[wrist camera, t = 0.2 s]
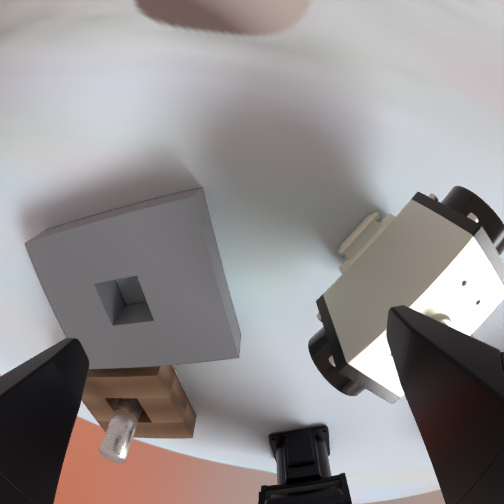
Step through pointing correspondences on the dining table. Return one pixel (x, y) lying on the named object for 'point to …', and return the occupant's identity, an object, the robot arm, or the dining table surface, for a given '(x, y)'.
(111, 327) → the socket plate
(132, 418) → the steel pin
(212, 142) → the dining table surface
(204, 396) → the dining table surface
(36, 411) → the robot arm
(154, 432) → the walnut mount
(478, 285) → the pneumatic valve
